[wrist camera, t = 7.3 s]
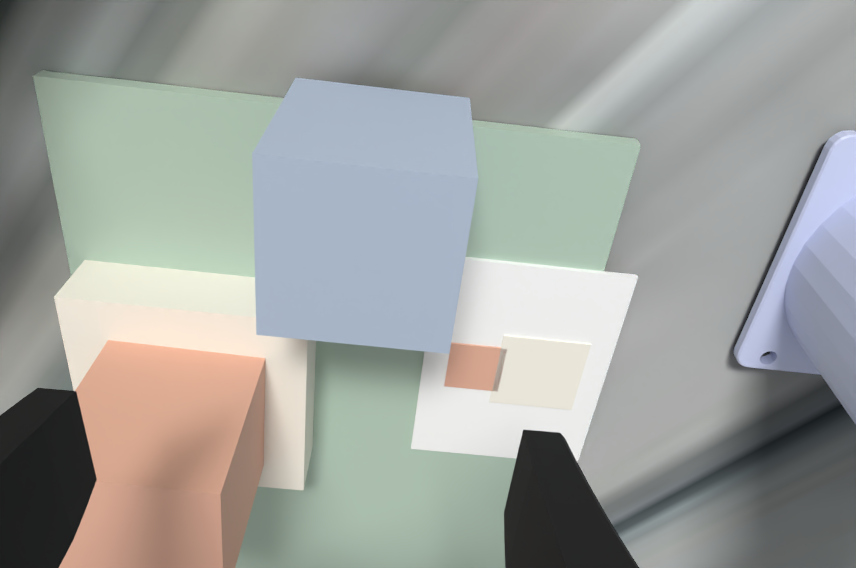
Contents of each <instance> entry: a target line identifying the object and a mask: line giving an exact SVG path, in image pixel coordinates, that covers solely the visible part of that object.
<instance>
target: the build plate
mask: <svg viewBox="0 0 856 568" xmlns="http://www.w3.org/2000/svg"><path fill="white" fill-rule="evenodd" d="M33 80H34V85H35V90H36V96H37V101H38V106H39V111H40V116H41V122H42V127H43V132H44V137H45V143H46V148H47V153H48V158H49V163H50V169H51V174H52V179H53V184H54V189H55V195H56V200H57V205H58V210H59V216H60V221H61V226H62V231H63V236H64V242H65V247H66V252H67V257H68V262H69V268H70V273H71V276H72V275H73V273H74V272H75V271H76V270H77V268H78V267H79V266H80V265H81V264H82V262H83V261H84V260H91V261H101V262H111V263H121V264H130V265H140V266H150V267H159V268H169V269H179V270H189V271H198V272H208V273H218V274H227V275H237V276H247V277H255V253H254V211H253V168H252V153H253V151H254V149H255V148H256V146H257V144H258V142H259V141H260V139H261V137H262V135H263V134H264V132H265V130H266V128H267V127H268V125H269V123H270V122H271V120H272V118H273V116H274V115H275V113H276V111H277V109H278V108H279V106H280V104H281V103H282V101H283V99H284V98H278V97H270V96H261V95H252V94H244V93H235V92H226V91H218V90H209V89H200V88H192V87H183V86H174V85H166V84H157V83H148V82H140V81H131V80H122V79H114V78H105V77H96V76H88V75H79V74H70V73H62V72H53V71H44V70H41V71H40V72H38V73H37V74H35V75H33ZM472 123H473V133H474V142H475V151H476V161H477V170H478V184H477V190H476V196H475V202H474V208H473V214H472V220H471V226H470V232H469V238H468V244H467V250H466V256H465V257H473V258H483V259H492V260H502V261H511V262H521V263H530V264H540V265H549V266H558V267H568V268H577V269H587V270H596V271H604V270H605V266H606V263H607V259H608V256H609V253H610V249H611V246H612V242H613V239H614V236H615V232H616V229H617V225H618V222H619V219H620V215H621V212H622V208H623V205H624V202H625V198H626V195H627V191H628V188H629V185H630V181H631V178H632V174H633V171H634V168H635V164H636V161H637V157H638V154H639V151H640V147H641V145H640V143H639V142H638V140H637V139H633V138H625V137H616V136H607V135H599V134H590V133H581V132H573V131H564V130H555V129H547V128H538V127H529V126H521V125H512V124H503V123H495V122H486V121H478V120H472ZM423 357H424V351H415V350H405V349H395V348H385V347H375V346H364V345H354V344H344V343H334V342H324V341H316V362H315V391H314V420H313V447H312V452H311V457H310V461H309V466H308V471H307V476H306V481H305V486H304V490H292V489H281V488H270V487H258V488H257V491H256V495H255V498H254V502H253V506H252V509H251V513H250V516H249V520H248V524H247V527H246V531H245V534H244V538H243V542H242V545H241V549H240V552H239V556H238V560H237V563H236V567H235V568H505V544H504V510H505V506H506V501H507V497H508V493H509V488H510V484H511V480H512V475H513V471H514V467H515V463H516V459H515V458H505V457H494V456H483V455H472V454H461V453H450V452H439V451H428V450H418V449H411V443H412V435H413V428H414V421H415V414H416V407H417V400H418V393H419V386H420V379H421V372H422V364H423Z"/></svg>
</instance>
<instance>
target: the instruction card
mask: <svg viewBox="0 0 856 568" xmlns="http://www.w3.org/2000/svg"><path fill="white" fill-rule="evenodd" d="M637 279H638V277H637V275H634V274H625V273H615V272H606V271H596V270H587V269H577V268H568V267H558V266H549V265H540V264H530V263H521V262H511V261H502V260H492V259H483V258H473V257H465V262H464V268H463V274H462V280H461V287H460V293H459V299H458V305H457V311H456V317H455V323H454V329H453V335H452V341H451V347H450V353H449V354H445V353H435V352H425V351H424V357H423V364H422V372H421V379H420V386H419V393H418V400H417V407H416V414H415V421H414V428H413V435H412V443H411V449H418V450H428V451H439V452H450V453H461V454H472V455H483V456H494V457H505V458H515V459H516V458H517V454H518V450H519V445H520V441H521V437H522V433H523V430H535V431H547V432H558V433H561V434H562V435H563V436H564V438H565V439H566V441H567V443H568V445H569V447H570V449H571V451H572V453H573V455H574V457H575V459H576V461H577V462H578V459H579V456H580V453H581V450H582V447H583V444H584V441H585V438H586V435H587V432H588V429H589V426H590V423H591V420H592V417H593V414H594V411H595V407H596V404H597V401H598V398H599V395H600V392H601V389H602V386H603V383H604V380H605V377H606V374H607V371H608V368H609V365H610V362H611V359H612V355H613V352H614V349H615V346H616V343H617V340H618V337H619V334H620V331H621V328H622V325H623V322H624V319H625V316H626V313H627V310H628V307H629V303H630V300H631V297H632V294H633V291H634V288H635V285H636V282H637Z"/></svg>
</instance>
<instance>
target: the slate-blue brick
mask: <svg viewBox="0 0 856 568" xmlns="http://www.w3.org/2000/svg"><path fill="white" fill-rule="evenodd" d="M252 168H253V211H254V253H255V296H256V335H263V336H273V337H284V338H294V339H304V340H314V341H324V342H334V343H344V344H354V345H364V346H375V347H385V348H395V349H405V350H415V351H425V352H435V353H445V354H449V353H450V347H451V341H452V335H453V329H454V323H455V317H456V311H457V305H458V299H459V293H460V287H461V280H462V274H463V268H464V262H465V256H466V250H467V244H468V238H469V232H470V226H471V220H472V214H473V208H474V202H475V196H476V190H477V184H478V170H477V161H476V151H475V142H474V133H473V123H472V114H471V105H470V98H465V97H457V96H448V95H440V94H431V93H423V92H414V91H406V90H397V89H388V88H380V87H371V86H363V85H354V84H346V83H337V82H329V81H320V80H311V79H303V78H295V80H294V82H293V84H292V85H291V87H290V89H289V90H288V92H287V94H286V96H285V97H284V99H283V101H282V103H281V104H280V106H279V108H278V109H277V111H276V113H275V115H274V116H273V118H272V120H271V122H270V123H269V125H268V127H267V128H266V130H265V132H264V134H263V135H262V137H261V139H260V141H259V142H258V144H257V146H256V148H255V149H254V151H253V153H252Z"/></svg>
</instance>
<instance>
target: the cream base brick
mask: <svg viewBox="0 0 856 568" xmlns="http://www.w3.org/2000/svg"><path fill="white" fill-rule="evenodd" d="M54 300H55V304H56V309H57V314H58V319H59V323H60V328H61V333H62V337H63V342H64V347H65V352H66V356H67V361H68V366H69V371H70V375H71V380H72V385H73V389H74V391H75V390H76V389H77V387H78V386H79V384H80V382H81V381H82V379H83V378H84V376H85V375H86V373H87V372H88V370H89V369H90V367H91V366H92V364H93V362H94V361H95V359H96V358H97V356H98V355H99V353H100V352H101V350H102V349H103V347H104V345H105V344H106V342H107V341H108V340H113V341H121V342H130V343H139V344H147V345H156V346H165V347H173V348H182V349H191V350H199V351H208V352H216V353H225V354H234V355H242V356H251V357H260V358H265V416H264V466H263V470H262V473H261V477H260V480H259V484H258V487H270V488H281V489H292V490H304V486H305V481H306V476H307V471H308V466H309V461H310V457H311V452H312V447H313V420H314V391H315V362H316V341H314V340H304V339H294V338H284V337H273V336H263V335H256V296H255V277H247V276H237V275H227V274H218V273H208V272H198V271H189V270H179V269H169V268H159V267H150V266H140V265H130V264H121V263H111V262H101V261H91V260H84V261H83V262H82V264H81V265H80V266H79V267H78V268H77V270H76V271H75V272H74V273H73V275H72V276H71V277H70V278H69V279H68V281H67V282H66V283H65V284H64V285H63V287H62V288H61V289H60V290H59V292H58V293H57V294H56V295H55V296H54Z"/></svg>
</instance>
